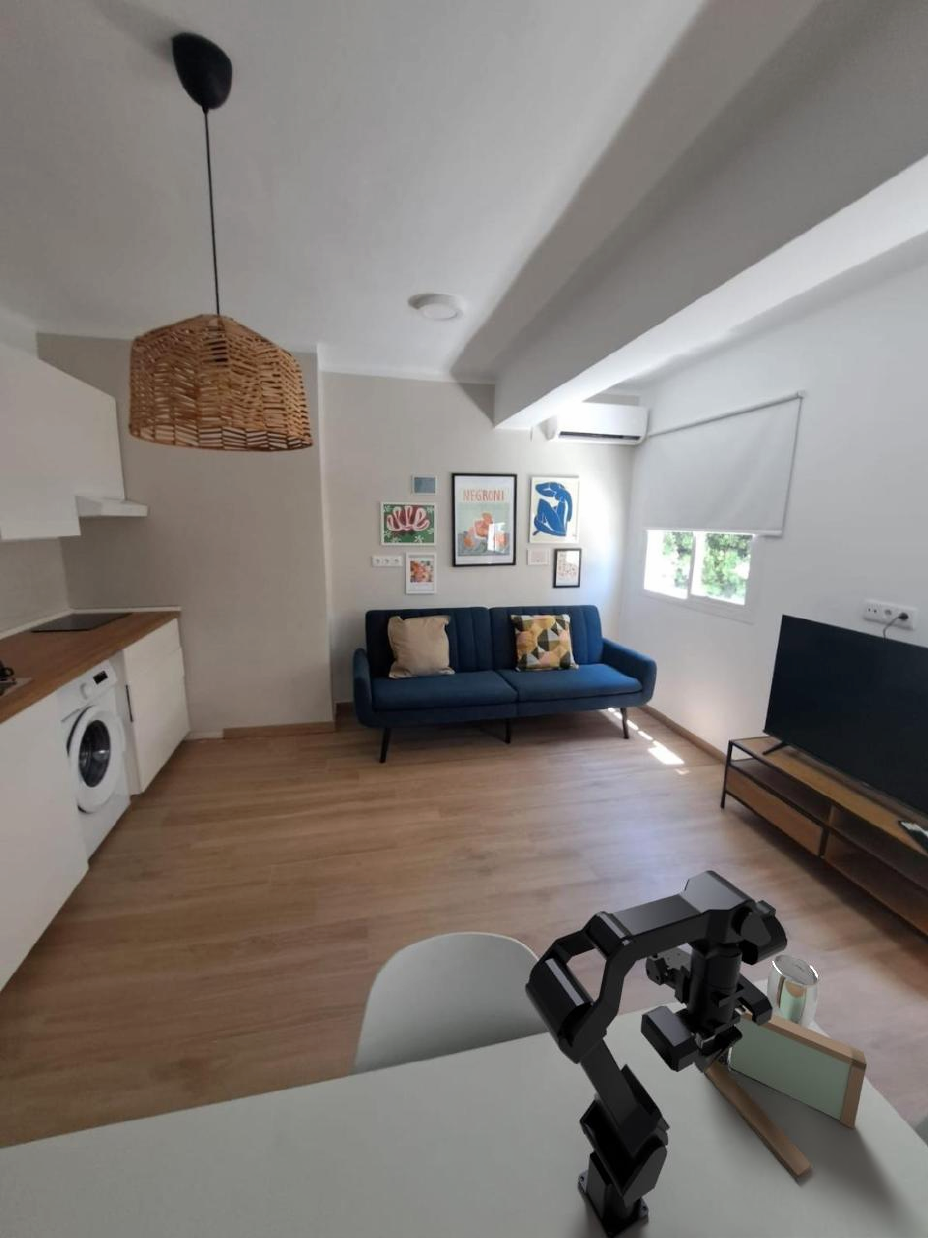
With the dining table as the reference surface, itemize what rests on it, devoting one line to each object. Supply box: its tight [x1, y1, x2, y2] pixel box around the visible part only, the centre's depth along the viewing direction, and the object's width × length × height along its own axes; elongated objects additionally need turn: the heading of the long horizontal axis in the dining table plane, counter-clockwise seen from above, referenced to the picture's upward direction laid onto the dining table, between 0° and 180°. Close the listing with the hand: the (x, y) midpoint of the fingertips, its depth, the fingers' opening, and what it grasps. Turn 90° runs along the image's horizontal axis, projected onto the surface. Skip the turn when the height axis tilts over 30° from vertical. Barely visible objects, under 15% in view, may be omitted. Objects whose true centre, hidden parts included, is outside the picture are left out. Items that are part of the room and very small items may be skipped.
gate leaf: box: [729, 1005, 868, 1129], centre depth 75 cm, size 16×2×11 cm, turn 61°
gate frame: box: [703, 1049, 813, 1181], centre depth 74 cm, size 6×18×14 cm, turn 24°
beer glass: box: [766, 952, 820, 1029], centre depth 82 cm, size 7×7×15 cm
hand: (700, 1068), depth 67 cm, fingers closed
